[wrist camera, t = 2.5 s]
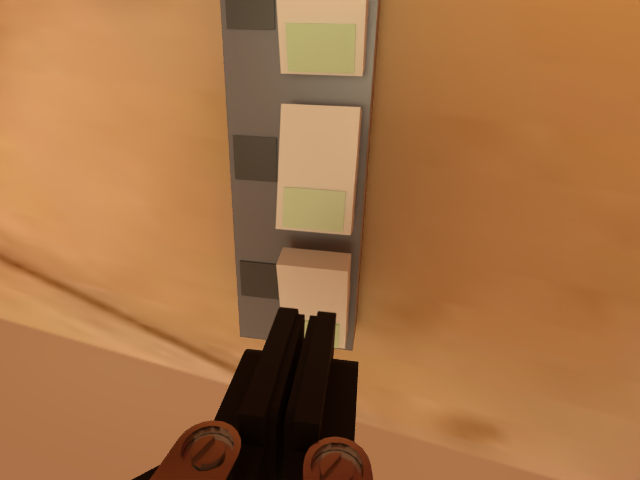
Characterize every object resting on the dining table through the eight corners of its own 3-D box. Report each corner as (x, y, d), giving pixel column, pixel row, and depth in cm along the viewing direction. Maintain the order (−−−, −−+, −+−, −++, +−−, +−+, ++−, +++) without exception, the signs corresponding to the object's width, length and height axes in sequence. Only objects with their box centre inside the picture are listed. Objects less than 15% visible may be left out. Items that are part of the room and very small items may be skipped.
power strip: (401, -276, 23) (403, -352, 19) (356, 323, 39) (351, 355, 35) (229, -262, 24) (195, -330, 20) (253, 312, 40) (237, 341, 36)
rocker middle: (362, 111, 27) (360, 106, 25) (352, 230, 29) (350, 235, 27) (288, 107, 28) (280, 103, 26) (282, 224, 29) (274, 229, 27)
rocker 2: (351, 253, 29) (347, 273, 28) (347, 329, 34) (344, 350, 32) (282, 247, 30) (275, 266, 28) (288, 322, 35) (282, 343, 33)
